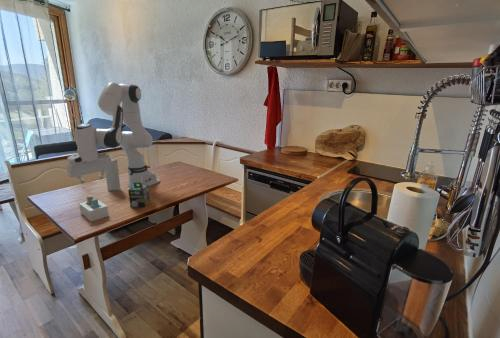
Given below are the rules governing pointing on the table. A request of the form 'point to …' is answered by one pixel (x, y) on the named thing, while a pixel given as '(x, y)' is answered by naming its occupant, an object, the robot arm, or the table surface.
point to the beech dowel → (89, 200)
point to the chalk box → (139, 195)
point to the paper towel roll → (113, 176)
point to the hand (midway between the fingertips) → (92, 180)
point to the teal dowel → (95, 203)
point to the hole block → (94, 211)
